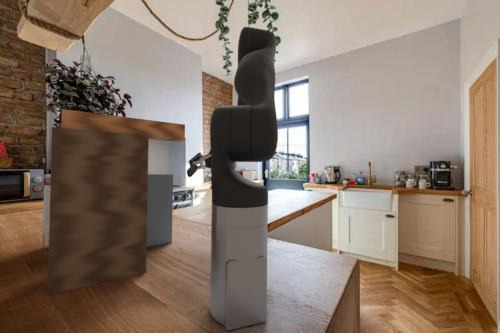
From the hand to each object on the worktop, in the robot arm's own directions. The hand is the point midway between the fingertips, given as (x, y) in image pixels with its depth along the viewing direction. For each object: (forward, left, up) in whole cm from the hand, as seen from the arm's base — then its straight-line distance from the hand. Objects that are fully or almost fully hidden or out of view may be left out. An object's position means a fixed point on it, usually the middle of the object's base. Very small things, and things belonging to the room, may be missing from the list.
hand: (200, 177), depth 65 cm
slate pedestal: (+9, +17, -20) cm, 28 cm away
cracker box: (+11, +34, -21) cm, 41 cm away
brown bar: (-9, +17, +10) cm, 22 cm away
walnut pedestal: (-10, +22, -20) cm, 31 cm away
